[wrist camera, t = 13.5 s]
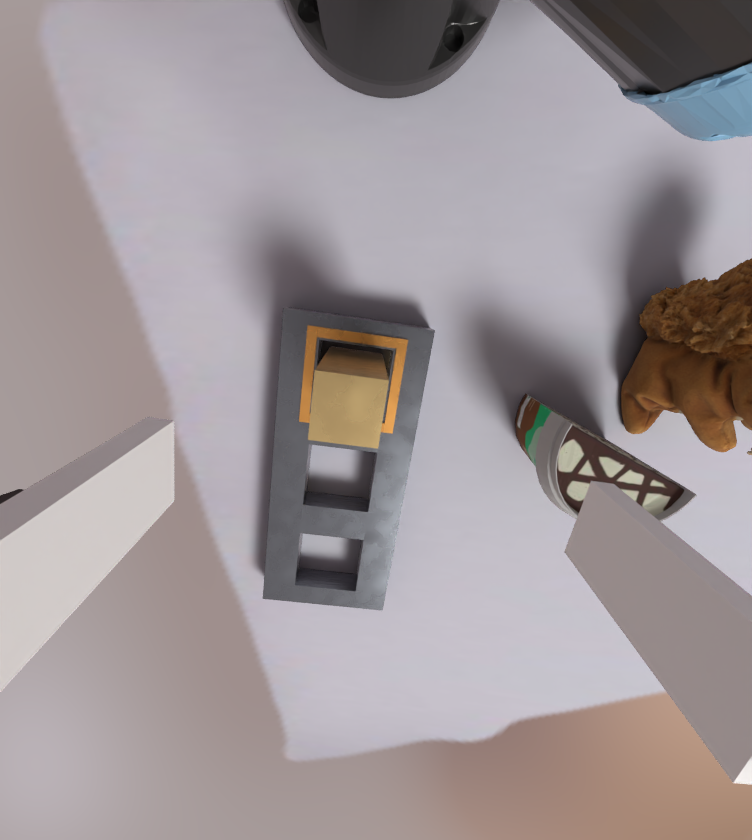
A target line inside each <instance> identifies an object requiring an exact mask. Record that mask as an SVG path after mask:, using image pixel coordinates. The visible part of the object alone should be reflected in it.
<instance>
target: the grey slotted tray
mask: <svg viewBox="0 0 752 840" xmlns="http://www.w3.org/2000/svg"><path fill="white" fill-rule="evenodd" d="M434 332H435V330H433V329H431V328H428V327H421V326H414V325H407V324H401V323H394V322H387V321H380V320H373V319H367V318H360V317H353V316H346V315H340V314H333V313H326V312H319V311H313V310H306V309H299V308H292V307H287V308H283V319H282V334H281V348H280V362H279V376H278V391H277V405H276V419H275V433H274V447H273V462H272V476H271V490H270V504H269V519H268V533H267V547H266V561H265V576H264V590H263V599H272V600H282V601H292V602H302V603H312V604H322V605H333V606H343V607H353V608H363V609H373V610H383V605H384V600H385V594H386V589H387V584H388V578H389V573H390V568H391V562H392V557H393V552H394V546H395V541H396V536H397V530H398V525H399V520H400V514H401V509H402V504H403V498H404V493H405V487H406V482H407V477H408V471H409V466H410V461H411V455H412V450H413V445H414V439H415V434H416V429H417V423H418V418H419V413H420V407H421V402H422V397H423V391H424V386H425V381H426V375H427V370H428V364H429V359H430V354H431V348H432V343H433V338H434ZM322 340H325V341H332V342H339V343H346V344H353V345H360V346H367V347H374V348H381V349H388V350H391V354H390V361H389V367H388V374H387V375H388V379H389V383H388V389H387V396H386V402H385V408H384V415H383V421H382V427H381V434H380V440H379V446H378V449H376V448H368V447H360V446H352V445H344V444H337V443H329V442H321V441H313V440H308V433H309V423H310V413H311V403H312V393H313V383H314V372H315V369H316V368H317V366H318V364H319V363H320V357H321V348H322ZM312 445H320V446H328V447H336V448H344V449H352V450H360V451H368V452H375V457H374V463H373V470H372V476H371V483H370V489H369V495H368V499H366V498H357V497H349V496H340V495H331V494H323V493H314V492H307V485H308V475H309V465H310V455H311V446H312ZM303 533H305V534H314V535H323V536H332V537H341V538H350V539H359V540H361V547H360V553H359V560H358V566H357V572H356V574H349V573H340V572H330V571H320V570H311V569H301V568H299V563H300V554H301V544H302V534H303Z"/></svg>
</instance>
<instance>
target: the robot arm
mask: <svg viewBox="0 0 752 840" xmlns="http://www.w3.org/2000/svg"><path fill="white" fill-rule="evenodd" d="M499 1H500V0H284V3H285V6H286V9H287V12H288V15H289V17H290V20H291V22H292V25H293V27H294V29H295V31H296V33H297V35H298V36H299V38H300V40H301V42H302V43H303V45H304V46H305V48H306V49H307V51H308V52H309V53H310V55H311V56H312V57H313V58H314V60H315V61H316V62H317V63H318V64H319V65H320V66H321V67H322V68H323V69H324V70H325V71H326V72H327V73H328V74H329V75H330V76H332V77H333V78H334V79H336V80H337V81H339V82H340V83H342V84H343V85H345V86H347V87H349V88H351V89H353V90H355V91H357V92H360V93H363V94H366V95H369V96H374V97H380V98H402V97H408V96H412V95H416V94H419V93H422V92H425V91H427V90H429V89H431V88H433V87H435V86H437V85H438V84H440V83H442V82H443V81H445V80H446V79H447V78H449V77H450V76H451V75H452V74H454V73H455V72H456V71H457V70H458V69H459V68H460V67H461V66H462V65H463V64H464V63H465V62H466V60H467V59H468V58H469V57H470V56H471V54H472V53H473V52H474V50H475V49H476V47H477V46H478V44H479V43H480V41H481V39H482V37H483V36H484V34H485V32H486V30H487V28H488V26H489V23H490V21H491V19H492V17H493V15H494V13H495V10H496V8H497V6H498V3H499ZM530 1H531V2H532V3H533V4H534V5H535V6H536V7H538V8H539V9H540V10H541V11H542V12H543V13H544V14H545V15H546V16H547V17H548V18H550V19H551V20H552V21H553V22H554V23H555V24H556V25H557V26H558V27H559V28H561V29H562V30H563V31H564V32H565V33H566V34H567V35H568V36H569V37H570V38H571V39H572V40H573V41H575V42H576V43H577V44H578V45H579V46H580V47H581V48H582V49H583V50H584V51H585V52H586V53H587V54H588V55H589V56H590V57H591V58H592V59H593V60H594V61H595V62H596V63H597V64H598V65H600V66H601V67H602V68H603V69H604V70H605V71H606V72H607V73H608V74H609V75H610V76H611V77H612V78H613V79H614V80H615V81H616V82H617V83H618V87H619V88H620V90H621V91H622V93H623V95H624V96H625V97H626V98H627V99H628V100H630V101H632V102H635V103H639V104H642V105H645V106H647V107H648V108H649V109H651V110H652V111H653V112H655V113H656V114H657V115H658V116H660V117H661V118H662V119H663V120H664V121H666V122H667V123H668V124H669V125H671V126H672V127H673V128H674V129H676V130H677V131H678V132H680V133H681V134H683V135H685V136H688V137H690V138H693V139H697V140H702V141H717V140H725V139H730V138H733V137H736V136H738V137H746V136H752V0H530ZM173 502H174V421H173V420H166V419H159V418H152V417H147V418H145V419H143V420H142V421H140V422H138V423H137V424H135V425H133V426H132V427H130V428H128V429H127V430H125V431H123V432H122V433H120V434H118V435H116V436H115V437H113V438H112V439H110V440H108V441H106V442H105V443H103V444H101V445H99V446H98V447H96V448H95V449H93V450H91V451H89V452H88V453H86V454H84V455H83V456H81V457H79V458H78V459H76V460H74V461H73V462H71V463H69V464H67V465H66V466H64V467H63V468H61V469H59V470H57V471H56V472H54V473H52V474H50V475H49V476H47V477H45V478H44V479H42V480H40V481H39V482H37V483H35V484H34V485H32V486H30V487H29V488H27V489H25V490H22V489H18V490H15V491H12V492H10V493H6V494H3V495H1V496H0V692H1V691H2V690H3V689H4V688H5V687H6V685H7V684H8V683H9V682H10V681H11V680H12V679H13V678H14V677H15V676H16V674H17V673H18V672H19V671H20V670H21V669H22V668H23V667H24V666H25V664H26V663H27V662H28V661H29V660H30V659H31V658H32V657H33V656H34V655H35V654H36V652H37V651H38V650H39V649H40V648H41V647H42V646H43V645H44V644H45V642H46V641H47V640H48V639H49V638H50V637H51V636H52V635H53V634H54V633H55V632H56V630H57V629H58V628H59V627H60V626H61V625H62V624H63V623H64V622H65V621H66V619H67V618H68V617H69V616H70V615H71V614H72V613H73V612H74V611H75V610H76V608H77V607H78V606H79V605H80V604H81V603H82V602H83V601H84V600H85V598H86V597H87V596H88V595H89V594H90V593H91V592H92V591H93V590H94V589H95V588H96V586H97V585H98V584H99V583H100V582H101V581H102V580H103V579H104V578H105V576H106V575H107V574H108V573H109V572H110V571H111V570H112V569H113V568H114V567H115V566H116V564H117V563H118V562H119V561H120V560H121V559H122V558H123V557H124V556H125V554H126V553H127V552H128V551H129V550H130V549H131V548H132V547H133V546H134V545H135V543H136V542H137V541H138V540H139V539H140V538H141V537H142V536H143V535H144V534H145V532H146V531H147V530H148V529H149V528H150V527H151V526H152V525H153V524H154V523H155V521H156V520H157V519H158V518H159V517H160V516H161V515H162V514H163V512H165V510H166V509H167V508H168V507H169V506H170V505H171V504H172V503H173ZM565 553H566V555H567V556H568V557H569V559H570V560H571V562H572V563H573V564H574V566H575V567H576V568H577V570H578V571H579V572H580V574H581V575H582V577H583V578H584V579H585V581H586V582H587V583H588V585H589V586H590V588H591V589H592V590H593V592H594V593H595V594H596V596H597V597H598V598H599V600H600V601H601V603H602V604H603V605H604V607H605V608H606V609H607V611H608V612H609V614H610V615H611V616H612V618H613V619H614V620H615V622H616V623H617V624H618V626H619V627H620V629H621V630H622V631H623V633H624V634H625V635H626V637H627V638H628V639H629V641H630V642H631V644H632V645H633V646H634V648H635V649H636V650H637V652H638V653H639V655H640V656H641V657H642V659H643V660H644V661H645V663H646V664H647V665H648V667H649V668H650V670H651V671H652V672H653V674H654V675H655V676H656V678H657V679H658V681H659V682H660V683H661V685H662V686H663V687H664V689H665V690H666V691H667V693H668V694H669V696H670V697H671V698H672V700H673V701H674V702H675V704H676V705H677V707H678V708H679V709H680V711H681V712H682V713H683V715H684V716H685V717H686V719H687V720H688V722H689V723H690V724H691V726H692V727H693V728H694V730H695V731H696V733H697V734H698V735H699V737H700V738H701V739H702V740H703V742H704V743H705V745H706V746H707V748H708V749H709V750H710V752H711V753H712V754H713V756H714V757H715V759H716V760H717V761H718V762H719V764H720V765H721V767H722V768H723V769H724V771H725V772H726V774H727V775H728V776H729V778H730V779H731V780H732V782H733V783H741V784H752V596H751V595H750V594H749V593H747V592H746V591H745V590H744V589H742V588H741V587H740V586H739V585H737V584H736V583H735V582H734V581H733V580H731V579H730V578H729V577H728V576H726V575H725V574H724V573H723V572H721V571H720V570H719V569H718V568H717V567H715V566H714V565H713V564H712V563H710V562H709V561H708V560H707V559H705V558H704V557H703V556H702V555H701V554H699V553H698V552H697V551H696V550H694V549H693V548H692V547H691V546H690V545H688V544H687V543H686V542H685V541H683V540H682V539H681V538H680V537H678V536H677V535H676V534H675V533H674V532H672V531H671V530H670V529H669V528H667V527H666V526H665V525H664V524H662V523H661V522H660V521H659V520H658V519H656V518H655V517H654V516H653V515H651V514H650V513H649V512H648V511H646V510H645V509H644V508H643V507H642V506H640V505H639V504H638V503H637V502H635V501H634V500H633V499H632V498H630V497H629V496H628V495H627V494H626V493H624V492H623V491H622V490H621V489H619V488H618V487H617V486H616V485H614V484H611V483H604V482H597V481H591V483H590V485H589V488H588V491H587V493H586V496H585V499H584V501H583V504H582V507H581V509H580V512H579V515H578V517H577V520H576V523H575V525H574V528H573V530H572V533H571V536H570V538H569V541H568V544H567V546H566V549H565Z"/></svg>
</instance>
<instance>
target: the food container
mask: <svg viewBox="0 0 752 840" xmlns="http://www.w3.org/2000/svg"><path fill="white" fill-rule="evenodd" d="M515 427H516V436H517V439H518V441H519V443H520V446H521V448H522V449H523V451H524V452H525V453H526V455H527V456H528V457H529V459H530V460H531V461H532V463H533V464H534V465H535V467H536V472H537V475H538V479H539V482H540V485H541V487H542V489H543V491H544V493H545V494H546V495H547V497H548V498H549V499H550V501H551V502H552V503H554V504H555V505H556V506H557V507H558V508H559V509H561V510H562V511H564V512H565V513H567V514H569V515H570V516H572V517H574V518H575V519H577V517H578V515H579V512H580V509H581V507H582V504H583V501H584V499H585V496H586V493H587V491H588V488H589V485H590V483H591V481H597V482H604V483H611V484H614V485H616V486H617V487H618V488H619V489H621V490H622V491H623V492H624V493H626V494H627V495H628V496H629V497H630V498H632V499H633V500H634V501H635V502H637V503H638V504H639V505H640V506H642V507H643V508H644V509H645V510H646V511H648V512H649V513H650V514H651V515H653V516H654V517H655V518H656V519H658V520H659V521H660V522H661V521H663V520H665V519H667V518H669V517H670V516H672V515H674V514H675V513H677V512H679V511H680V510H681V509H682V508H684V507H685V506H686V505H687V504H689V503H690V502H691V501H692V500H693V499H694V498H695V497H696V496H697V495H696V494H695V493H693V492H692V491H690V490H688V489H687V488H685V487H684V486H682V485H680V484H678V483H677V482H675V481H673V480H672V479H670V478H668V477H667V476H665V475H664V474H662V473H660V472H659V471H657V470H655V469H654V468H652V467H650V466H649V465H647V464H646V463H644V462H642V461H641V460H639V459H637V458H636V457H634V456H632V455H631V454H629V453H628V452H626V451H624V450H623V449H621V448H619V447H618V446H616V445H614V444H613V443H611V442H609V441H608V440H606V439H605V438H603V437H601V436H599V435H598V434H596V433H594V432H592V431H591V430H589V429H587V428H585V427H584V426H582V425H580V424H578V423H577V422H575V421H573V420H571V419H570V418H568V417H566V416H564V415H563V414H561V413H559V412H557V411H556V410H554V409H552V408H550V407H549V406H547V405H545V404H543V403H542V402H540V401H538V400H536V399H535V398H533V397H531V396H529V395H528V394H525V395H524V397H523V399H522V401H521V402H520V404H519V407H518V411H517V415H516V419H515Z"/></svg>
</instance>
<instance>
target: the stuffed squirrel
mask: <svg viewBox="0 0 752 840" xmlns="http://www.w3.org/2000/svg"><path fill="white" fill-rule="evenodd" d="M651 297H652V299H651V300H650V301H649V303H648V304H646V305H645V309H644V311H643V312H642V314H639V316H640V323H639V324H640V325H641V327H642V328H643V329H644V330H645V331H646V332H647V335H648V338H647V339H646V340H645V341H644V343H643V345H642V348H641V350H640V351H639V353H638V355H637V357H636V359H635V361H634V363H633V365H632V367H631V369H630V371H629V373H628V375H627V377H626V378H625V380H624V382H623V384H622V390H621V409H622V418H623V421H624V426H625V429H626V430H627V431H628V432H629V433H632V434H640V433H643V432H645V431H646V430H647V429H648V428H649V427H650V426H651V425H652V424H653V423H654V422H655V420H656V419H657V418H658V417H659V415H660V414H661V412H662V411H663V410H668V411H671V412H674V413H682V414H684V415H685V416H686V418H687V420H688V422H689V423H690V425H691V427H692V429H693V431H694V433H695V434H696V435H697V437H698V438H699V439H700V441H702V442H703V443H704V444H705V445H706V446H708V447H709V448H711V449H713V450H715V451H719V452H727V451H728V450H730V449H732V448H734V447H735V446H736V443H737V439H736V434H735V428H734V424H733V421H734V420H741V422H742V424H743V425H744V426H745V427H747V428H748V429H750V430H752V259H750V260H746V261H745V262H743V263H740V264H739V265H737V266H736V267H735V268H733V269H730V270H729V271H727V272H725V273H724V274H722V275H721V276H720V277H719V279H718V280H711V281H709V282H708V280H706V278H703V279H702V280H700V279H698V280H693V281H690V282H689V283H688V284H686V285H681V286H680V287H679V288H678V289H677V288H674V289H670V288H667V287H666V290H662V291H661V292H660V293H657V294H655V295H652V296H651ZM747 454H749V455H752V448H751V451H748V452H747Z"/></svg>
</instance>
